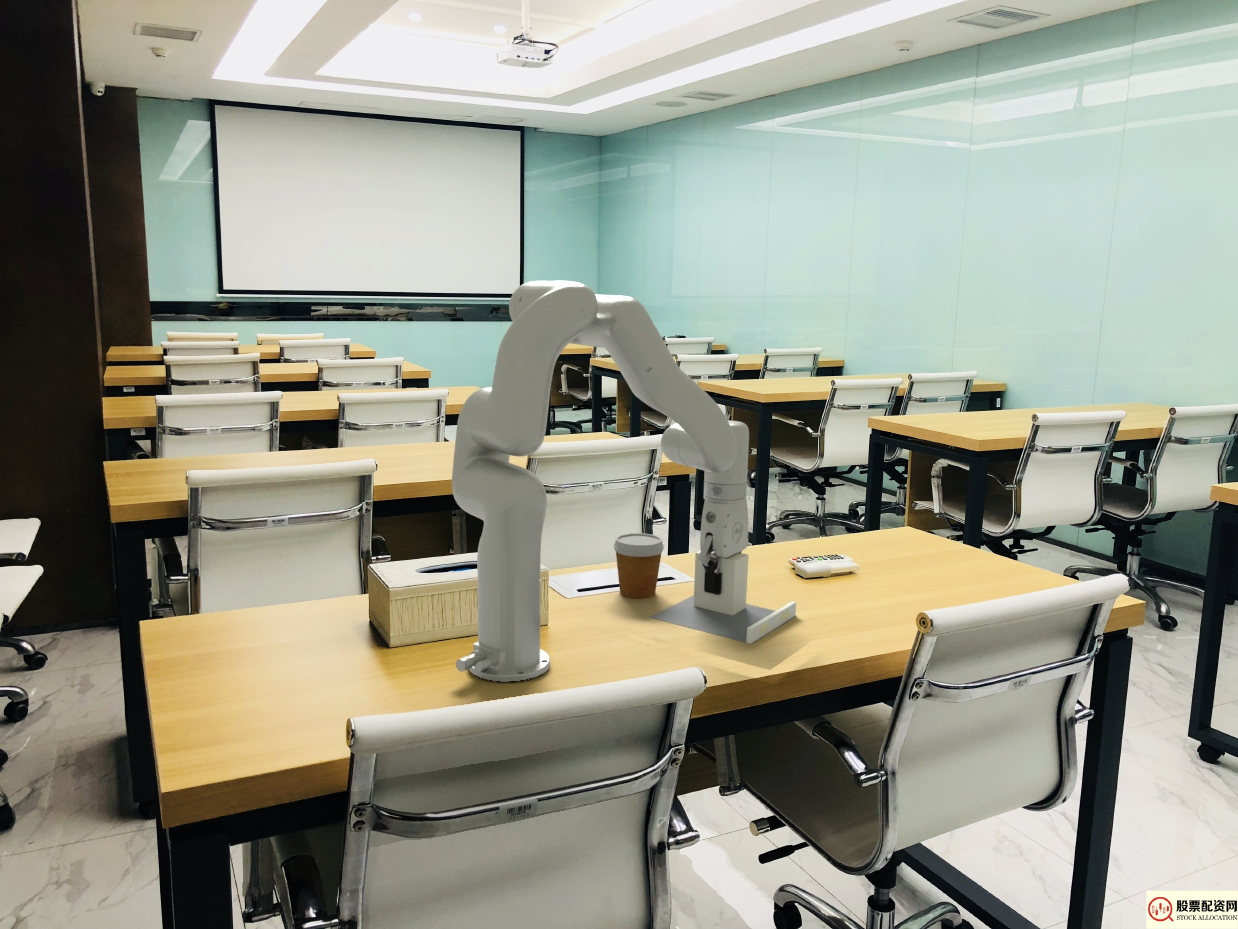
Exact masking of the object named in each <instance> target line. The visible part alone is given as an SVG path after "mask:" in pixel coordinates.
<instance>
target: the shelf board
mask: <svg viewBox="0 0 1238 929" xmlns="http://www.w3.org/2000/svg"><path fill="white" fill-rule="evenodd" d="M796 610H797V601H794V600H791V601H790V602H788V603H786V604H784V605H783V606H782V607H780V608H778V609H777V610H774V609H770V608H767V607H761V606H758V605H752V604H749V603H746V608H745V609H743V610H741V611H740V612H738V613H736V614H734V615H729V614H725V613H721V612H717V611H713V610H709V609H704V608H700V607H696V606H694V594H693V595H691V596H690V597H688V598H686V599H683V600H682V601H680V602H677V603H675V604H673V605H671V606H669V607H667V608H665V609H663V610H660V611H659V612H657V613H654V614H652V615H651V616H649V618H650V619H654V620H659V621H662V622H666V623H668V624H669V623H670V624H673V625H678V626H681V627H685V628H688V629H692V630H697V631H701V632H704V633H708V634H711V635H715V636H720V637H721V638H722V637H723V638H726V639H730V640H734V641H738V642H742V643H746V644H749V645H753V644H755V643H757V642H759V640H761V639H763V638H764V637H766V636H767V635H769V634H771V633H772V632H774V631H776V629H778V628H780V627H781V626H783V625H785V624H786V623H788V622H789V621H791V620H792V619H794V618H795V617H797V615H796V614H797V611H796Z"/></svg>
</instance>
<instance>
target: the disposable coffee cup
mask: <svg viewBox="0 0 1238 929" xmlns="http://www.w3.org/2000/svg"><path fill="white" fill-rule="evenodd" d="M612 546H613V548H614V551H615V556H616V565H617V566H616V567H617V577H618V586H619V594H620V595H621V596H623V597H625V598H627V599H634V600H635V599H636V600H644V599H649V598H652V597H654V596H655V595H656V590H657V583H658V577H659V572H660V571H659V570H660V565H661V558H662V554H663V552H664V549H665V545H664V543H663V539H662V538H661V537H660V536H657V535H654V534H650V533H644V532H643V533H642V532H640V533H638V532H633V533H632V532H631V533H624V534H620V535H618V536H617V537H615V541H614V543H613V545H612Z"/></svg>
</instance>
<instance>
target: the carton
mask: <svg viewBox="0 0 1238 929" xmlns="http://www.w3.org/2000/svg"><path fill="white" fill-rule="evenodd" d="M700 552H701V550H698V551H696V552H695V558H694V559H695V560H694V561H695V562H694V584H693V585H694V587H693V595H694V606H696V607H700V608H704V609H709V610H713V611H717V612H721V613H725V614H729V615H734V614H736V613H738V612H740V611H741V610H743V609H745V608H746V604H747V591H748V574H749V573H748V572H749V554H746V553H742V552H741V553H736V554H734V555H732V556H730V557H727V558H722V563H721V568H720V573H722V585H721V594H719V595H716V594H712V593H707V592H705V591H704V579H705V571H704V570H703V565H702V563H701V562H700V560H699V554H700ZM711 554H714V555H716V553H715V551H713V552H711ZM711 560H713V562H714V563H715V564H716V558H711Z"/></svg>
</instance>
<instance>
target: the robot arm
mask: <svg viewBox="0 0 1238 929" xmlns="http://www.w3.org/2000/svg"><path fill="white" fill-rule="evenodd" d="M508 312H509V316H510V319H511V322H512V323H511V324H510V326H509V327H508V329H507V331H506V332H505V334H504V336H503V337H502V339H501V342H500V344H499V346H498V347H499V348H498V350H497V353H496V354H497V355H496V360H495V366H494V372H493V378H492V385H491V386H487V387H483V388H479V389H478V390H475V391H474V392H473V393H471V394H470V395H469V396H468V397H467V398H466V400H465V401H464V403H463V405H462V407H461V409H460V412H459V413H458V414H459V415H458V419H457V422H456V424H457V425H456V431H455V432H456V433H455V443H454V449H453V450H454V453H453V459H452V460H453V463H452V473H451V488H452V495H453V497H454V500H455V503H456V504H457V505H458V506H459V508H461V509H462V510H463V511H464V512H465V513H467V514H469V515H471V516H474V517H476V518H477V519H480V520H482V521H483V527H482V533H481V536H480V538H479V542H478V547H477V561H476V563H477V564H476V566H477V567H476V568H477V642H474V643H473V651H471V652H470V654H469V655H465V656H462V657H460V658H459V659H457V660H456V661H455V666H456V669H457V670H458V671H459V672H462V673H463V672H465V671H467V670H469V672H470V673H471V674H472V675H473V676H475V675H476V676H475V677H477V676H478V677H477V678H479V677H480V678H479V679H482V678H484V679H483V680H485V679H487V680H486V681H490V680H492V681H491V682H497V681H500V682H499V683H510V682H509V681H517V682H521V681H520V680H524V681H527V680H526V679H528V680H530V679H529V678H532V679H535V678H538V677H540V676H541V674H542V675H544V673H546V672H547V671H549V668H550V666H551V657H550V655H549V654H548V652H546V651H545V650H543V649H541V598H542V596H541V594H542V593H541V589H542V587H541V585H542V584H541V583H542V582H541V578H542V577H541V576H542V575H541V573H542V572H541V570H542V569H541V568H542V566H541V557H542V556H541V553H542V538H543V537H542V536H543V529H544V523H545V521H546V520H545V519H546V515H547V507H548V496H547V492H546V489H545V486H544V484H543V482H542V480H540V478H539V477H538V476H537V475H536V474H535V473H533V472H532V471H531V470H529V469H527V468H525V467H523V466H520V465H517V464H514V463H510V456H513V457H520V458H521V457H522V458H523V457H526V456H530V455H533V454H534V453H536V452H537V451H538V450H539V449H540V448H541V446H542V444H543V443H544V439H545V436H546V431H547V426H548V425H547V423H548V416H549V415H548V414H549V408H550V407H549V405H550V396H551V387H552V386H551V385H552V382H553V374H554V369H555V365H556V363H557V361H558V358H559V357H560V354H562V352H563V351H564V349H565V348H566V347H567V346H568V345H569V344H573V345H580V346H586V347H587V346H588V347H593V348H603V349H605V350H606V351H607V352H608V353H609V356H610V357H611V359H612V360H613V362H614V364H615V365H616V367H617V369H618V370H619V371H620V373H621V375H622V376H623V379H624V380H625V381H626V384H627V385H628V387H629V388H630V391H631V392H632V393H633V395H634V396H635V397H636V398H638V399H639V400H640V401H641V402H643V403H645V405H647V406H648V407H650V408H651V409H653V410H656V411H658V412H659V413H661V414H663V415H665V416H666V417H667V418H669V419H671V420H672V421H673V422H674V423H673V424H671V425H670V426H668V427H667V428H666V429H665V430H664V432H663V434H662V436H661V438H660V447H661V452H662V454H663V455H664V457H666V458H667V459H668V460H669V461H671V462H673V463H675V464H677V465H681V466H684V467H689V468H694V469H698V470H701V471H703V472H704V474H703V475H704V477H703V478H704V480H703V500H704V504H703V507H702V508H703V509H702V515H701V524H700V535H699V539H700V540H699V541H700V542H699V548H700V551H701V552H700V554H699V560H700V562H701V563H702V565H703V570H704V571H705V579H704V591H705V592H707V593H712V594H716V595H719V594H721V585H722V573H720V568H721V563H722V558H727V557H730V556H732V555H734V554H736V553H742V552H743V551H744V550H745V549H747V547H748V546H749V511H748V510H749V508H748V500H747V491H748V490H747V489H748V487H747V486H748V484H747V483H748V469H749V468H748V466H749V465H748V464H749V447H750V446H749V445H750V443H749V442H750V431H749V427H748V425H747V424H746V423H744V422H742V421H738V420H728V418H727V417H726V415H725V414H724V412H723V411H722V409H721V407H720V406H719V405H718V404H717V402H716V401H715V400H714V399H713V398H712V397H711V396H710V395H709V394H708V393H707V392H706V391H705V390H704V389H703V388H702V387H701V386H700V385H699V384H697V382H695V381H694V380H693V379H692V377H690V376H689V375H688V374H687V373H686V372H684V371H683V370H682V369H681V368H680V366H679V365H678V364H677V362H676V361H675V359H674V357H673V354H672V353H671V351H670V350H669V348H668V346H667V345H666V343H665V341H664V338H663V337H662V336H661V334H660V332H659V331H658V328H657V327H656V325H655V323H654V321H653V320H652V318H651V316H650V314H649V313H648V311H647V309H646V308H645V306H644V305H643V304H642V303H641V302H640V301H639V300H637V299H636V298H635V297H632V296H628V295H618V294H617V295H616V294H615V295H614V294H595V292H594V290H592V288H590V287H589V286H588V285H586V284H584V283H581V282H579V281H572V280H534V281H533V280H532V281H528V282H525V283H522V284H521V285H519V286H518V287H517V288H516V289H515V291H514V292H513V293H512V295H511V297H510V299H509V303H508ZM713 551H715V553H716V555H714V554H711V552H713ZM711 558H716V564H715V563H714V562H713V560H711ZM539 675H540V676H539ZM537 676H538V677H537ZM534 677H535V678H534Z"/></svg>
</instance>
